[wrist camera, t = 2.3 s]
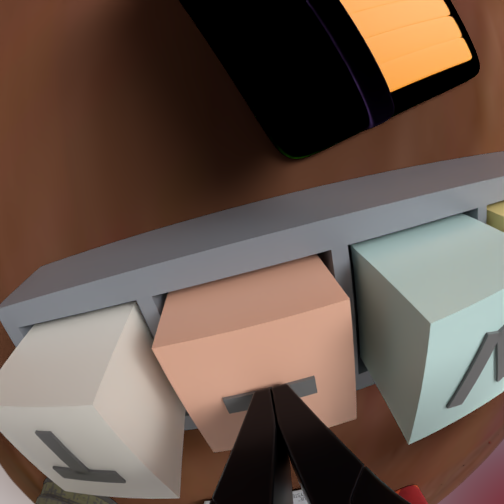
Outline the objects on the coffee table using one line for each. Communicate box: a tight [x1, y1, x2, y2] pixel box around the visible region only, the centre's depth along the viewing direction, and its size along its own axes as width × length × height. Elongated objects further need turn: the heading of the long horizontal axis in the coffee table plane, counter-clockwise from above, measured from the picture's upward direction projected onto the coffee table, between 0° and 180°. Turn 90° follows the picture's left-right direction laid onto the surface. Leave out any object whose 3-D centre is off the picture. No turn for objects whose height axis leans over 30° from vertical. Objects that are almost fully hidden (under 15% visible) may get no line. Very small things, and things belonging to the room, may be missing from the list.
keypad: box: [0, 151, 504, 430], centre depth 11 cm, size 24×7×4 cm, turn 104°
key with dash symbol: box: [152, 254, 356, 453], centre depth 10 cm, size 5×5×4 cm
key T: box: [0, 301, 186, 499], centre depth 8 cm, size 5×5×4 cm
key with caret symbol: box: [351, 213, 504, 445], centre depth 8 cm, size 5×5×4 cm
